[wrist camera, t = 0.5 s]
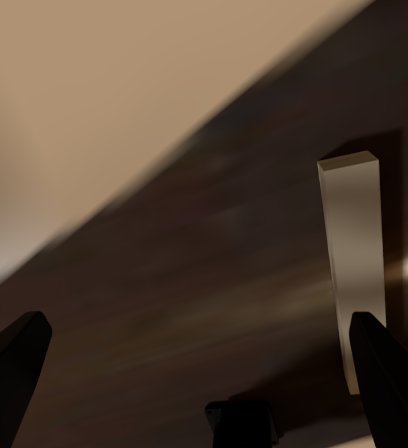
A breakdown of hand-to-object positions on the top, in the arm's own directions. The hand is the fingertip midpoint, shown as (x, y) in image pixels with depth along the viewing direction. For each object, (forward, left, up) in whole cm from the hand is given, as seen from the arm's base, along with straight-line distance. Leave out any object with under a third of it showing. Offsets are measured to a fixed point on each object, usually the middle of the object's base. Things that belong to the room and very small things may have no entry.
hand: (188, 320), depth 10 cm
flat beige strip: (-11, -7, -14) cm, 20 cm away
